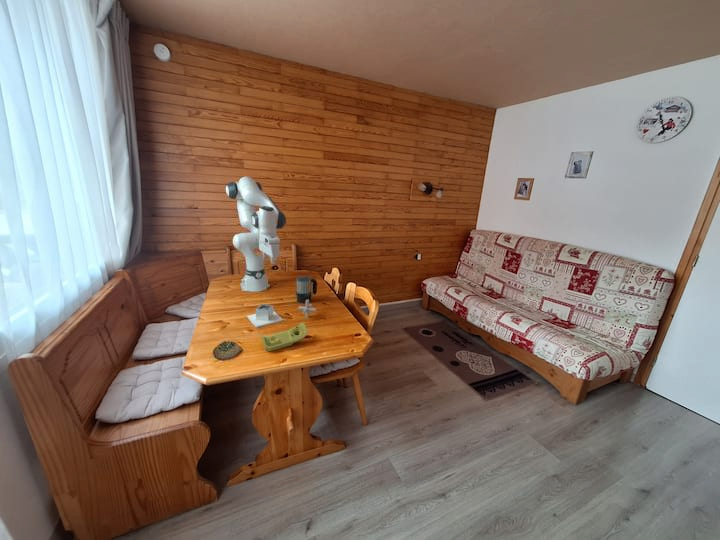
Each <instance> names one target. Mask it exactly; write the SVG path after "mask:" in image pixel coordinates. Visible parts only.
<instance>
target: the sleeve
mask: <svg viewBox="0 0 720 540" xmlns="http://www.w3.org/2000/svg"><path fill="white" fill-rule="evenodd" d="M262 308H267V309H262ZM273 311H274V304H264V303H263V304H260V305H259V306H258V307H257V308H256V309H255V314H256V320H265V321H269V320H270V319H271V317H272V316H273Z"/></svg>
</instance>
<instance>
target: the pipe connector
mask: <svg viewBox="0 0 720 540" xmlns="http://www.w3.org/2000/svg"><path fill="white" fill-rule="evenodd" d="M297 309H298V310H299V311H300V310H301V311H302V315H305V318H306V319H309V318H310V312H314V313H315V312H317V308H315V307H313V304H312V303H310V302H309V300H306V303H305V306H303V305H302V306H301V305H298V307H297Z"/></svg>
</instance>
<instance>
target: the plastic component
mask: <svg viewBox="0 0 720 540" xmlns="http://www.w3.org/2000/svg"><path fill="white" fill-rule="evenodd" d="M307 334H308V328H307V326H306V324H305V322H301V323H300V324H298V325H296V326H293V327H291V328H289V330H288V329H287V330H284V331H281V332H277V333H274V334H270V335H265V336H264V334H263V332H262V333H260V339H261V340H262V344H263V347H264V349H265V351H268V352H271V351H277V350H279V349H282V348H286V347H290V346H293V345H294V343H297V342H299V341H301V340H303V339H304V338H305V337H306V336H307Z"/></svg>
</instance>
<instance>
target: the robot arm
mask: <svg viewBox="0 0 720 540" xmlns="http://www.w3.org/2000/svg"><path fill="white" fill-rule="evenodd" d="M225 193H226V195H227V197H228V198H229V199H232V200H236V201H237V202H236V206H237V207H236V209H237V213H238V219H239V222H240V223H239V224H240V226H241V227H242V228H244V229H245V230H248V231H249V232H241V233H237V234H234V236H233V238H232V244H233V247H234V248H235V249H237V251H239V252H241V253H242V255H243V257H244V258H245V265H246V266H245V267H246V269H245V275H244V276H243V278H241V282H240V283H239V285H240V287H241V291H242V292H250V293H251V292H252V293H253V292H254V293H257V292H263V291H265V290H267V289H268V288H270V286H271V285H270V283H268V282H269V281H268V276H267V274H266V269H265V261H268V259H269V258H268V257H270V261H269V263H270V264H271V265H275V261H276V259H277V258H279V257H280V243H281V239H280V237H279V236H278V233H277V232H278V231H277V230H278V229H279V230H282V229H283V228H284V227H285V226H286V225H287V217H286V214H284V212H283V211H282V210H281V209H279V207H278V206H277V204H276V203H275V202H274V201H273V200H272V198H271V196H269V195H267V194H266V193H265V192H263V187H262V184H261V183H260V182H258V181H255V180H254V179H253V178H252V177H250V176H247V175H246V176H245V175H244V176H243V177H241V178H240V179H239V181H231V182H230V181H229V182H227V184H226V186H225ZM255 206H257V207H259V209H258V210H257V211H256V208H255ZM256 249H257V250H258V249H259V251H260V252H261V253H262V255H261V254H259V253H257V252H255V250H256ZM264 260H265V261H264Z"/></svg>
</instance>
